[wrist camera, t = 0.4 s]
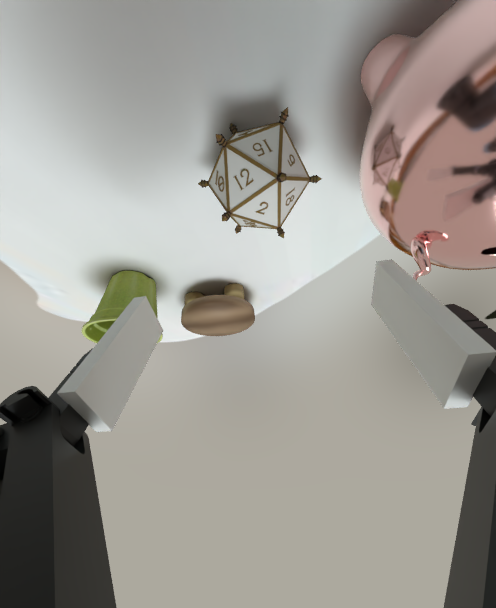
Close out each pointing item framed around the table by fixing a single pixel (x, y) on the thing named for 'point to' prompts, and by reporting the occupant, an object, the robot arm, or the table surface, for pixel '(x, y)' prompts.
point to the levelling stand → (218, 312)
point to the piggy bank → (435, 140)
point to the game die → (258, 176)
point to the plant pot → (119, 302)
